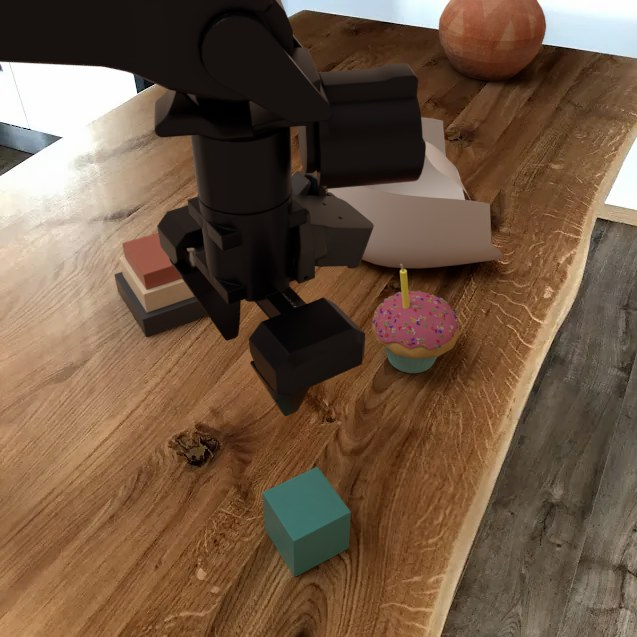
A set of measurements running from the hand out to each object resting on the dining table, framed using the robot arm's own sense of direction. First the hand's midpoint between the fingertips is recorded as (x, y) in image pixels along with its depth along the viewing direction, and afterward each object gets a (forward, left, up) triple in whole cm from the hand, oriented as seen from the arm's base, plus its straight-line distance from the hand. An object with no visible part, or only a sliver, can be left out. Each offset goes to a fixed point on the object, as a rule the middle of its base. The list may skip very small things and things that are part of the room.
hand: (259, 373), depth 54 cm
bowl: (+32, +25, -14) cm, 43 cm away
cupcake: (+20, +7, -14) cm, 25 cm away
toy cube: (0, -6, -14) cm, 15 cm away
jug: (+77, +62, -14) cm, 100 cm away
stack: (+2, +28, -13) cm, 31 cm away
